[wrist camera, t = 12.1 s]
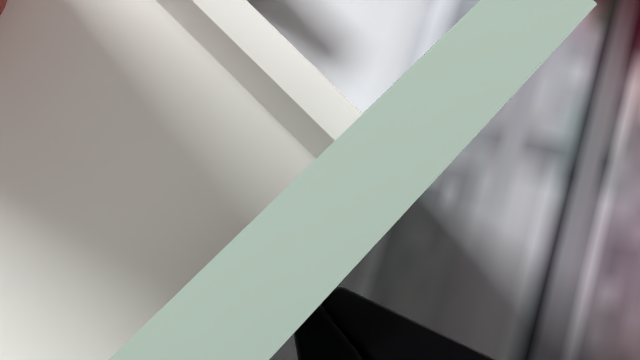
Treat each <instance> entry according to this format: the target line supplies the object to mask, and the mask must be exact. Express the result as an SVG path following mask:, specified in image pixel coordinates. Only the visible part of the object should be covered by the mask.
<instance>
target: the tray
mask: <svg viewBox="0 0 640 360" xmlns="http://www.w3.org/2000/svg"><path fill="white" fill-rule="evenodd" d="M596 5H597V3H595V2H594V1H593V0H480V1H479V2H478V3H477V4H476V5H475V6H474V7H473V8H472V9H470V10H469V11H468V12H467V13H466V14H465V15H464V16H463V17H462V18H461V19H460V20H459V21H458V22H457V23H456V24H455V25H454V26H453V27H452V28H451V29H450V30H449V31H448V32H447V33H446V34H445V35H444V36H443V37H442V38H441V39H439V40H438V41H437V42H436V43H435V44H434V45H433V46H432V47H431V48H430V49H429V50H428V51H427V52H426V53H425V54H424V55H423V56H422V57H421V58H420V59H419V60H418V61H417V62H416V63H415V64H414V65H413V66H412V67H411V68H410V69H409V70H407V71H406V72H405V73H404V74H403V75H402V76H401V77H400V78H399V79H398V80H397V81H396V82H395V83H394V84H393V85H392V86H391V87H390V88H389V89H388V90H387V91H386V92H385V93H384V94H383V95H382V96H381V97H380V98H379V99H378V100H376V101H375V102H374V103H373V104H372V105H371V106H370V107H369V108H368V109H367V110H366V111H365V112H364V113H363V114H362V113H361V112H360V111H359V110H358V109H357V108H356V107H355V106H354V105H353V104H352V103H351V102H350V101H349V100H348V99H347V98H346V97H345V96H344V95H343V94H342V93H341V92H340V91H339V90H338V89H337V88H336V87H335V86H334V85H333V84H332V83H331V82H330V81H329V80H328V79H327V78H326V77H324V76H323V75H322V74H321V73H320V72H319V71H318V70H317V69H316V68H315V67H314V66H313V65H312V64H311V63H310V62H309V61H308V60H307V59H306V58H305V57H304V56H303V55H302V54H301V53H300V52H299V51H298V50H297V49H296V48H295V47H294V46H293V45H292V44H291V43H290V42H289V41H288V40H287V39H286V38H285V37H284V36H283V35H282V34H280V33H279V32H278V31H277V30H276V29H275V28H274V27H273V26H272V25H271V24H270V23H269V22H268V21H267V20H266V19H265V18H264V17H263V16H262V15H261V14H260V13H259V12H258V11H257V10H256V9H255V8H254V7H253V6H252V5H251V4H250V3H249V2H248V1H247V0H7V3H6V6H5V8H4V10H3V12H2V14H1V15H0V360H270V358H271V357H272V356H273V355H274V354H275V353H276V352H277V351H278V350H279V349H280V348H281V346H282V345H283V344H284V343H285V342H286V341H287V340H288V339H289V338H290V337H291V336H292V335H293V333H294V332H295V331H296V330H297V329H298V328H299V327H300V326H301V325H302V324H303V323H304V322H305V320H306V319H307V318H308V317H309V316H310V315H311V314H312V313H313V312H314V311H315V310H316V309H317V307H318V306H319V305H320V304H321V303H322V302H323V301H324V300H325V299H326V298H327V297H328V295H329V294H330V293H331V292H332V291H333V290H334V289H335V288H336V287H337V286H338V285H339V284H340V282H341V281H342V280H343V279H344V278H345V277H346V276H347V275H348V274H349V273H350V272H351V271H352V269H353V268H354V267H355V266H356V265H357V264H358V263H359V262H360V261H361V260H362V259H363V258H364V256H365V255H366V254H367V253H368V252H369V251H370V250H371V249H372V248H373V247H374V246H375V244H376V243H377V242H378V241H379V240H380V239H381V238H382V237H383V236H384V235H385V234H386V233H387V231H388V230H389V229H390V228H391V227H392V226H393V225H394V224H395V223H396V222H397V221H398V220H399V218H400V217H401V216H402V215H403V214H404V213H405V212H406V211H407V210H408V209H409V208H410V207H411V205H412V204H413V203H414V202H415V201H416V200H417V199H418V198H419V197H420V196H421V195H422V193H423V192H424V191H425V190H426V189H427V188H428V187H429V186H430V185H431V184H432V183H433V182H434V180H435V179H436V178H437V177H438V176H439V175H440V174H441V173H442V172H443V171H444V170H445V169H446V167H447V166H448V165H449V164H450V163H451V162H452V161H453V160H454V159H455V158H456V157H457V156H458V154H459V153H460V152H461V151H462V150H463V149H464V148H465V147H466V146H467V145H468V144H469V142H470V141H471V140H472V139H473V138H474V137H475V136H476V135H477V134H478V133H479V132H480V131H481V129H482V128H483V127H484V126H485V125H486V124H487V123H488V122H489V121H490V120H491V119H492V118H493V116H494V115H495V114H496V113H497V112H498V111H499V110H500V109H501V108H502V107H503V106H504V105H505V103H506V102H507V101H508V100H509V99H510V98H511V97H512V96H513V95H514V94H515V93H516V92H517V90H518V89H519V88H520V87H521V86H522V85H523V84H524V83H525V82H526V81H527V80H528V78H529V77H530V76H531V75H532V74H533V73H534V72H535V71H536V70H537V69H538V68H539V67H540V65H541V64H542V63H543V62H544V61H545V60H546V59H547V58H548V57H549V56H550V55H551V54H552V52H553V51H554V50H555V49H556V48H557V47H558V46H559V45H560V44H561V43H562V42H563V41H564V39H565V38H566V37H567V36H568V35H569V34H570V33H571V32H572V31H573V30H574V29H575V27H576V26H577V25H578V24H579V23H580V22H581V21H582V20H583V19H584V18H585V17H586V16H587V14H588V13H589V12H590V11H591V10H592V9H593V8H594V7H595V6H596Z"/></svg>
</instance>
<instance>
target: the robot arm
mask: <svg viewBox="0 0 640 360" xmlns="http://www.w3.org/2000/svg"><path fill="white" fill-rule="evenodd" d="M294 338H295V344H296V350H297V356H298V360H495V359H493V358H491V357H489V356H487V355H485V354H482V353H480V352H478V351H476V350H474V349H472V348H470V347H468V346H466V345H464V344H461V343H459V342H457V341H455V340H453V339H451V338H449V337H447V336H445V335H442V334H440V333H438V332H436V331H434V330H432V329H430V328H428V327H426V326H423V325H421V324H419V323H417V322H415V321H413V320H411V319H409V318H407V317H405V316H402V315H400V314H398V313H396V312H394V311H392V310H390V309H388V308H386V307H383V306H381V305H379V304H377V303H375V302H373V301H371V300H369V299H367V298H364V297H362V296H360V295H358V294H356V293H354V292H352V291H350V290H348V289H346V288H343V287H337V288H335V289H334V290H333V291H332V292H331V293H330V294H329V295H328V297H327V298H326V299H325V300H324V301H323V302H322V303H321V304H320V305H319V306H318V307H317V309H316V310H315V311H314V312H313V313H312V314H311V315H310V316H309V317H308V318H307V319H306V320H305V322H304V323H303V324H302V325H301V326H300V327H299V328H298V329H297V330H296V331H295V332H294Z"/></svg>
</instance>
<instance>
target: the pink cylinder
mask: <svg viewBox="0 0 640 360" xmlns="http://www.w3.org/2000/svg"><path fill="white" fill-rule="evenodd" d="M6 3H7V0H0V15H1V14H2V12H3V10H4V8H5V6H6Z"/></svg>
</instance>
